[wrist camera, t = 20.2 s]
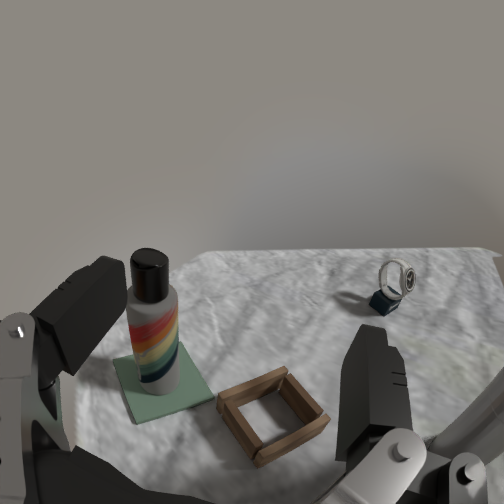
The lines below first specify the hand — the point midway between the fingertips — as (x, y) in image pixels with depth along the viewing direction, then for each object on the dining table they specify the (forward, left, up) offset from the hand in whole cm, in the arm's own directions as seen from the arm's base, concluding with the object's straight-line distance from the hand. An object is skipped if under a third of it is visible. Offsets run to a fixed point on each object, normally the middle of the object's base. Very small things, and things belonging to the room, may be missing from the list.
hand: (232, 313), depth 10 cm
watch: (-49, -16, -30) cm, 59 cm away
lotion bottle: (-2, -19, -30) cm, 35 cm away
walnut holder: (-13, -7, -30) cm, 33 cm away
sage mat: (-3, -19, -30) cm, 35 cm away
